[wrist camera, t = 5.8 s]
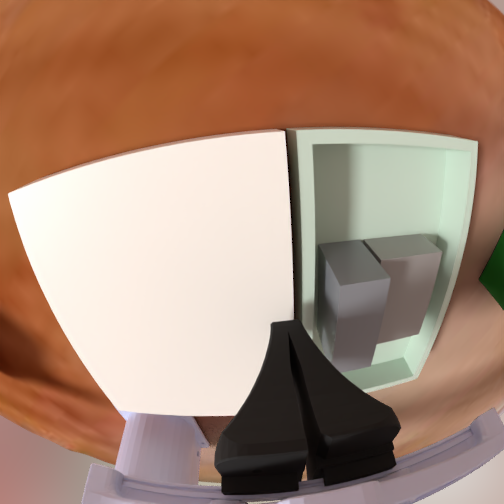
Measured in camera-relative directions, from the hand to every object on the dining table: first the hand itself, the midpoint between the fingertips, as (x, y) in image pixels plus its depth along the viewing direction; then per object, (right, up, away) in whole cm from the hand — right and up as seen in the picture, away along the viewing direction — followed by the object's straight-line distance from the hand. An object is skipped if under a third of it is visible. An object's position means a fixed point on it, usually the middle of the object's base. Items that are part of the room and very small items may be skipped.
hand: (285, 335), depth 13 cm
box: (+6, +2, +3) cm, 7 cm away
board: (-7, +1, +4) cm, 8 cm away
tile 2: (+2, +1, +1) cm, 3 cm away
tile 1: (+7, +1, +1) cm, 7 cm away
